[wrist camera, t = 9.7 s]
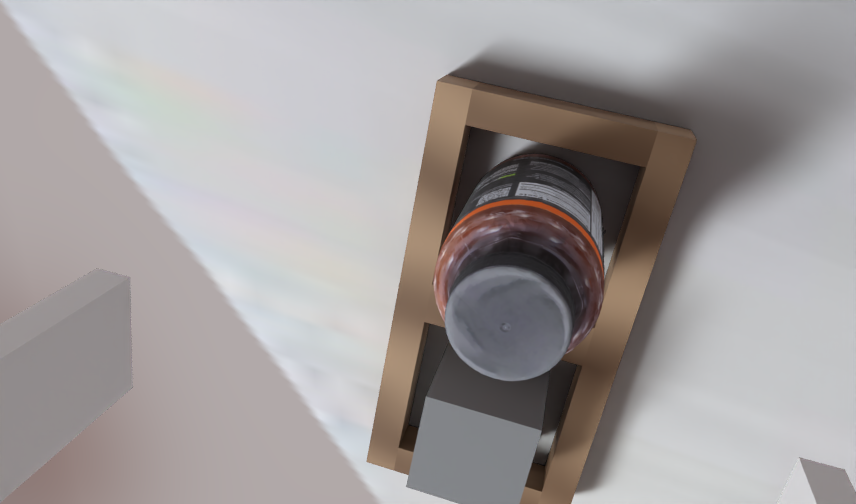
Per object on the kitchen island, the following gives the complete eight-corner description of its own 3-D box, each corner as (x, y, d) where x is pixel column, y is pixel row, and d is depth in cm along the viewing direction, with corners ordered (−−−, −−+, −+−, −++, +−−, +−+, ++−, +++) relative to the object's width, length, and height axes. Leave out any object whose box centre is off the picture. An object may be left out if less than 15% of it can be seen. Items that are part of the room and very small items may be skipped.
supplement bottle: (543, 298, 33) (517, 444, 23) (445, 220, 33) (374, 332, 22) (632, 207, 30) (648, 325, 20) (527, 121, 30) (488, 197, 20)
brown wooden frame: (446, 74, 30) (437, 80, 28) (690, 130, 29) (697, 140, 27) (377, 438, 38) (366, 461, 36) (565, 496, 37) (563, 523, 35)
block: (551, 358, 34) (541, 430, 29) (527, 439, 36) (514, 521, 31) (453, 331, 35) (425, 396, 29) (435, 411, 37) (406, 486, 31)
